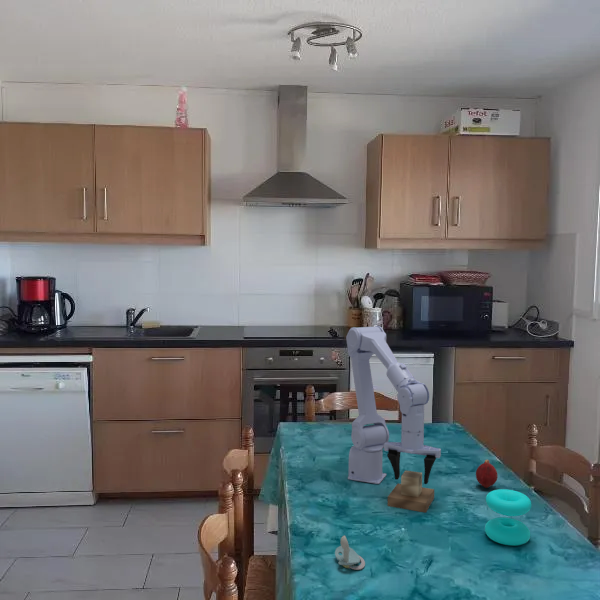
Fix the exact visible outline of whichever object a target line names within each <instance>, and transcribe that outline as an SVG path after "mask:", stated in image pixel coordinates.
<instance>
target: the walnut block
mask: <svg viewBox="0 0 600 600" xmlns="http://www.w3.org/2000/svg"><path fill="white" fill-rule="evenodd" d="M434 499H435V488H428V487H423V486H422V492H421V493H420V495H419V497H413V496H406V495H401V483H397V484H396V485H395V486H394V488H393V489H392V490H391V492H389V494H388V495H387V507H393V508H397V509H401V510H402V509H403V510H407V511H408V510H409V511H415V512H421V513H427V512H428V510H429V508H430V507H429V506H431V504H432V503H433V501H434Z"/></svg>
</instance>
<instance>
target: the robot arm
mask: <svg viewBox="0 0 600 600" xmlns="http://www.w3.org/2000/svg"><path fill="white" fill-rule="evenodd" d="M345 338H346V346H347V352H348V354H347V355H348V356H349V357H350V360H351V361H350V362H351V368H352V375H353V383H354V389H355V390H354V391H355V396H356V397H355V398H356V404H357V410H358V416H356V418H355V419H354V420H353V421H352V422H351V437H350V438H351V441H352V442H351V443H352V444H353V445H352V446H351V447H350V449H349V452H348V476H347V480H352V481H357V482H361V483H362V482H363V483H369V484H376V485H379V484H381V482H382V481H383V480H384V479H385V478H386V476H387V473H385V472H383V455H384V454H383V451H384V452H387V458H388V460H389V462H390V465H391V468H392V470H393V474H394V480H397V481H398V480H399V479H400V475H401V469H400V468H401V467H400V461H401V453H406V454H411V455H412V454H413V455H420V456H425V457H424V458H423V463H424V465H423V467H424V474H423V475H424V477H423V485H427V484H428V483H429V479H430V474H431V472H432V468H433V466H434V464H435V462H436V459H440V458H441V456H442V449H441V448H439V447H434V446H430V445H424V441H425V439H424V438H425V437H424V435H425V434H424V433H425V432H424V431H425V429H424V428H425V425H424V424H425V405H427V404H428V403H429V400H430V391H429V388H428V387H427V385H426V383H424V382H420V380H418V379H417V380H416V378H415V377H414V376H413V374H412V372H411V371H410V370H409V368H408V367H407V365H406V363H403V362H399V361H398V360H397V357H395V355H394V352H393V351H392V349H391V348H390V346H389V344H388V343H387V333H386V332H385V331H384V329H383V327H382V326H380V325H375V326H365V327H364V326H361V327H355V326H353V327H350V329H349V330H348V332H347V335H346V336H345ZM373 355H374V356H376V357H377V359H378V360H379V361H380V362H381V363H382V365H383V366H384V367H385V368H386V369H387V370H386V377H387V379H388V380H389V381H390V383H391V384H392V386H393V387H394V389H395V390H396V391H397V395H396V396H397V398H396V399H397V402H398V404H399V410H400V413H401V435H400V436H401V442H400V441H399V442H397V441H389V439H390V432H389V429H388V427H387V424H386V420H385V418H384V417H383V416H381V415H380V414H378V412H377V404H376V398H375V391H374V384H373V383H374V382H373V378H372V370H371V365H370V359H371V358H372V356H373Z"/></svg>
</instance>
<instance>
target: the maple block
mask: <svg viewBox="0 0 600 600" xmlns="http://www.w3.org/2000/svg"><path fill="white" fill-rule="evenodd" d="M400 484H401V495H406V496H413V497H419V495H420V493H421V492H422V487H423V472H418V471H412V470H404V472H403V473H402V474H401V478H400Z"/></svg>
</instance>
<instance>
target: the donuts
mask: <svg viewBox="0 0 600 600" xmlns="http://www.w3.org/2000/svg"><path fill="white" fill-rule="evenodd" d="M485 502H486V505H487V507H488V508H489V509H490V510H491V511H493V512H494V513H496V514H499V515H502V516H501V517H500V516H499V517H493V518H490V520H488V521H487V522H486V523H485V526H484V532H485V534H486V535H487V538H489V539H490V540H491V541H493V542H495V543H497V544H501V545H505V546H522V545H525V544H526V543H528V542H529V540H530V539H531V530H530V529H529V527H528V526H527V525H526V524H525V523H524V522H522V521H520V520H518V519H516V518H513V517H520V516H523V515H524V516H525V514H527V513H529V512H530V511H531V509H532V501H531V499H530V498H529V496H527V495H526V494H524V493H523V492H520V491H517V490H512V489H507V488H505V489H504V488H503V489H502V488H499V489H494V490H491V491H489V492H488V493H487V495H486V496H485ZM506 516H507V517H506Z"/></svg>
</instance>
